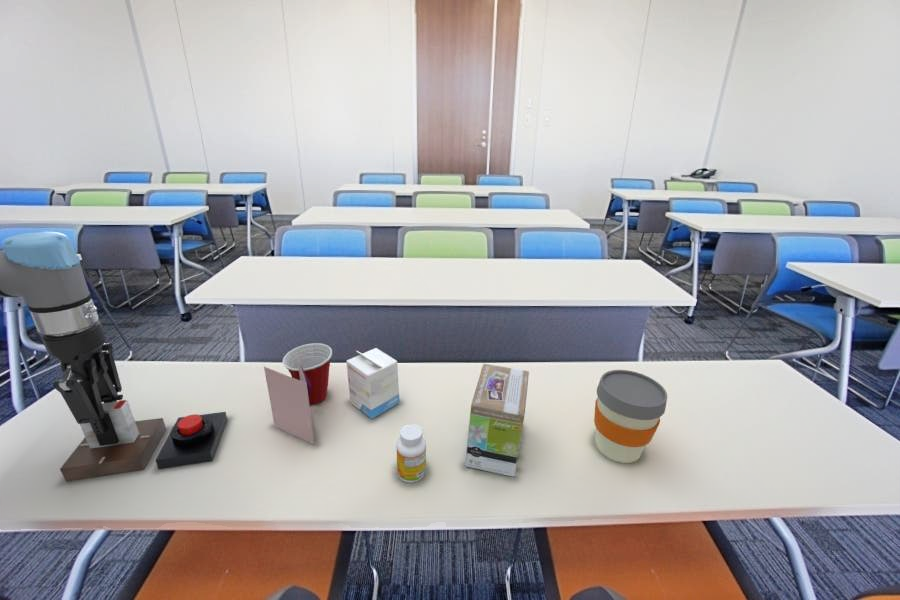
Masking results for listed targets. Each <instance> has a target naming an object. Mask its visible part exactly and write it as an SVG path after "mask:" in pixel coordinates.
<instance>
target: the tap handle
mask: <svg viewBox="0 0 900 600" xmlns="http://www.w3.org/2000/svg"><path fill="white" fill-rule="evenodd" d="M102 406H103V410H104V413H109V416H110V418H111V421H112V424H113V426H114V429H115V431H116V434H117V436H118V439H119V442H118V443H117V444H111V445H104V446H100V445H99V442H98V440H97V437H96V435H95V434H94V432H93V429H92V427H91V424H90V423H84V424H79V426H80V428H81V430H82V433H83V435H84V438H86V440H87V442H88V445H89V447H90V448H98V447H105V446H112V445H119V444H127V443H134V441H135V440H136V438H137V437H138V435H139V431H138V428H137V426H136V423H135V421H136V420H135V417H134V415H133V411H132V409H131V406H130V404H129V400H126V399H122V400H118V401H117V402H110V403H104V402H102Z"/></svg>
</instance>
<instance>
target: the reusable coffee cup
mask: <svg viewBox="0 0 900 600" xmlns="http://www.w3.org/2000/svg"><path fill="white" fill-rule="evenodd" d="M596 387H597V388H596V396H597V397H596V398H595V399H596V400H595V404H594V418H593V419H594V420H593V422H594V426H595V437H594V442H595V443H594V444H595V446H596V449H598V451H599V452H600V453H601V454H603V456H605V457H606V458H608V459H609V460H612V461H614V462H618V463H623V464H632V463H635V462H636V461H637V462H638V460H639V459H640V457H641V455H642V454H643V452H644V451H645V447H646V446H647V445H648V444H650V442H651V441H652V440H653V437H654V436H655V434H656V432H657V429H658V427H659V426H660V423H661V417H662V416H663V415H664V414H665V412H666V408H667V402H668V393H667V391H666V389H665V388H664V386H662V384H661V383H659V382H658V381H657V380H655V379H653V378H651V377H650V376H647V375H646V374H643V373H640V372H637V371H632V370H627V369H612V370H609V371H606V372H604V373H603V374H602V375H601V377H600V379H599V382H598V384H597V386H596Z"/></svg>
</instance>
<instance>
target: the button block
mask: <svg viewBox="0 0 900 600" xmlns="http://www.w3.org/2000/svg"><path fill="white" fill-rule="evenodd" d="M199 415H200V416H201V418H202V421H203V427H202V429H201V430H199V431H198V432H196V433H193V434H191V435H182V434H180V431H179V428H178V422H179V421H180V420H181V419H183V418H184V417H185V416H181V417H178V418H177V420H176V421H175V423H174V425H173V426H172V428H171V430H170V431H169V434H168V436H167V438H166V440H165V441H164V443H163V446H162V447H161V449H160V451H159V453H158V454H157V457H156V458H155V462H156V466H157V468H158V470H163V469H169V468H175V467H182V466H189V465H195V464H201V463H208V462H213V461H214V457H215V456H216V455H215V454H216V452H217V449H218V447H219V444H220V441H221V438H222V435H223V434H224V433H223V432H224V430H225V427H226V425H227V422H228V416H227V412H226V411H220V412H219V411H218V412H212V413H203V414H199Z"/></svg>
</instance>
